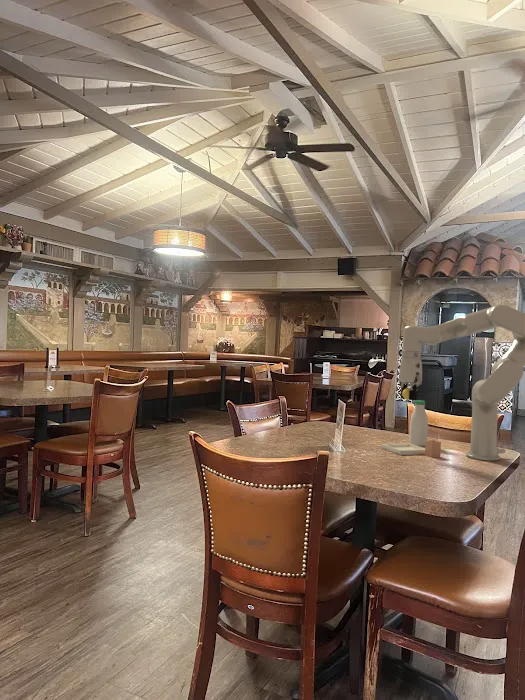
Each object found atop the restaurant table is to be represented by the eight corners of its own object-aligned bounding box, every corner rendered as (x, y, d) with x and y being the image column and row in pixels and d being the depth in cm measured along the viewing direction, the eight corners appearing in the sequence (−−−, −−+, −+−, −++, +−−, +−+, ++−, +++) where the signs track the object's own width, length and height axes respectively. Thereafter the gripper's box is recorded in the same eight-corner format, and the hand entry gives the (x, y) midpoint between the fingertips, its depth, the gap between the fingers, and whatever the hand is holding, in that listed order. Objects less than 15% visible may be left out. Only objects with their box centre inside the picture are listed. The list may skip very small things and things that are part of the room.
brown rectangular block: (433, 454, 209) (434, 440, 209) (440, 457, 205) (441, 442, 205) (424, 455, 208) (425, 440, 208) (431, 457, 204) (432, 442, 204)
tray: (409, 447, 223) (409, 443, 223) (429, 454, 210) (429, 449, 210) (381, 448, 219) (381, 443, 219) (399, 455, 205) (400, 450, 205)
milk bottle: (429, 447, 227) (431, 401, 226) (411, 446, 227) (413, 401, 227) (424, 443, 234) (425, 400, 234) (407, 443, 234) (409, 399, 234)
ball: (409, 399, 217) (410, 387, 217) (416, 400, 212) (417, 388, 212) (399, 399, 215) (400, 387, 215) (406, 400, 210) (407, 388, 210)
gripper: (431, 357, 207) (428, 402, 207) (406, 355, 223) (403, 397, 223) (416, 356, 204) (413, 401, 204) (391, 354, 220) (389, 396, 220)
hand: (408, 398), depth 214 cm, fingers closed on ball, 4 cm apart
